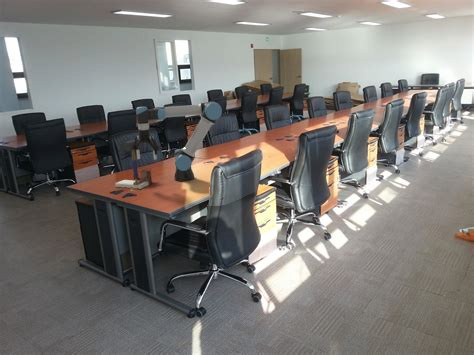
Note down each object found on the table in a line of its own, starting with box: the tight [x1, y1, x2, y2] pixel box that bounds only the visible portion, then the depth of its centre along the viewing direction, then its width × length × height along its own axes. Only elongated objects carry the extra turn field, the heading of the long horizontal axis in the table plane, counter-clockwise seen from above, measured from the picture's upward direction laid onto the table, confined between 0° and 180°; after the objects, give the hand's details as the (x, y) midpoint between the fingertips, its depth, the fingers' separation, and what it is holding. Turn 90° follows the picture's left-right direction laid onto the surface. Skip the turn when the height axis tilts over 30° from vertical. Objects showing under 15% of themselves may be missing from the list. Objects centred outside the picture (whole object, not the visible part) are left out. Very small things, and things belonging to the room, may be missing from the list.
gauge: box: [133, 168, 153, 185], centre depth 290 cm, size 17×5×10 cm, turn 157°
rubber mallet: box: [123, 139, 142, 179], centre depth 308 cm, size 12×8×30 cm, turn 153°
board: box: [114, 179, 150, 190], centre depth 291 cm, size 10×22×3 cm, turn 67°
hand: (147, 159), depth 283 cm, fingers open, 13 cm apart
